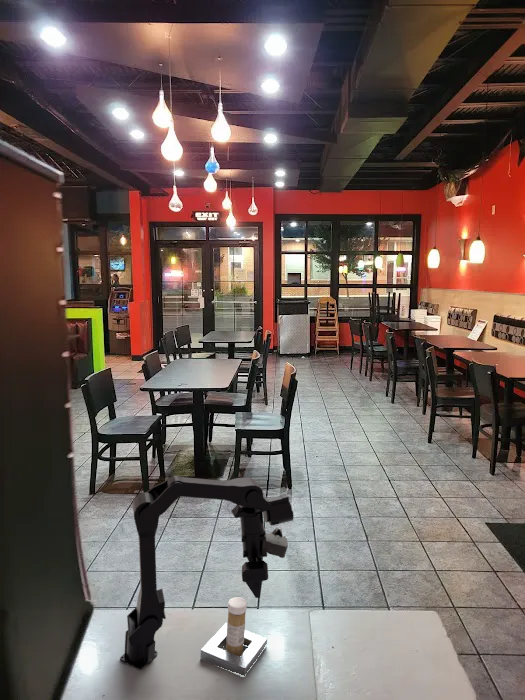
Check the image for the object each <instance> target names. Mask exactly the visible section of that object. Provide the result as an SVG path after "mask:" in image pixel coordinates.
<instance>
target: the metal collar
mask: <svg viewBox="0 0 525 700" xmlns="http://www.w3.org/2000/svg"><path fill="white" fill-rule="evenodd" d="M227 623H228V622H225V623H224V624H223V625H222V627H221V626H220V628H219V630H218V631H217V632H216V633H215V634H214V635H213V636H212V637H211V638H210V639H209V640H208V641H207V643H206V644H205V645H204V646H203V647H202V648H201V649H200V660H201V661H203V662H205V663H208V664H211V665H212V664H213V665H212V666H214V665H216V666H215V667H217V666H219V667H222V668H224V669H227V670H230V671H232V672H236V673H239V674H241V675H244V676H245V674H246V673H247V671H248V670H249V669H250V667H251V666H252V665H253V663H254V662H255V661H256V659H257V658H258V656H259V655H260V653H261V652H262V650H263V649H264V647H265V645H266V644H267V645H268V638H267V637H265V636H261V635H259V634H256V633H254V632H253V631H252V632H251V631H249V630H247V629H245V634H244V643H243V644H244V645H247V646H248V648H245V650H243V654H242V655H241V657H239V656H237V655H234V654H232V653H230V652H227V651H226V649H224V648H223V646H224V645H225V644H226V636H227ZM225 646H226V645H225ZM222 648H223V649H222ZM219 667H218V668H219ZM224 669H223V670H224Z"/></svg>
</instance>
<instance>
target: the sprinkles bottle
mask: <svg viewBox="0 0 525 700" xmlns="http://www.w3.org/2000/svg"><path fill="white" fill-rule="evenodd" d="M247 605H248V603H247V601H246V599H244V598H242V597H239V596H236V597H232V598H230V599H229V600H228V602H227V612H228V615H227V622H226V623H227V636H226V645H225V651H227V652H230V653H232V654H234V655H237V656H239V657H240V656H241V655H242V654H243V653H244V647H243V643H244V634H245V630H246V613H247V607H248V606H247Z"/></svg>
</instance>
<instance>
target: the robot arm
mask: <svg viewBox="0 0 525 700" xmlns="http://www.w3.org/2000/svg"><path fill="white" fill-rule="evenodd" d="M180 497H182V498H195V499H207V500H222V501H228V502H230V503H233V504H235V506H234V507H233V509H231V510H230V511H231V513H232V515H233V517H234V518H235V519H238V518H239V519H240V531H241V543H242V558H243V559H244V558H247V561H245V562H244V563H243V564H242V566H241V580H242V582H243V583H245V584H246V585H247V586H248V588H249V590H250V592H251V593H252V595H253V596H254V598H256V599H259V598H261V593H262V585H263V582H264V581H267V580H268V579H269V567H268V563H267V562H266V561H264V560H263V558H267V557H268V554H269V555H272V556H275V557H276V556H277V557H279V558H282V559H284V558H285V557H286V553H287V551H288V546H289V543H288V542H289V541H288V539H287V538H286V535H283V531H282V529H281V528H278V527H276V528H275V529H274V530H273V531H272V532H269V533H268V532H267V533H266V528H265V524H264V522H265V523H268V524H269V525H270V526H277V525H281V524H285V523H289V522H293V521H294V511H293V507H292V504H291V502H290V497H289V496H288V495H287V494H286V493H285V494H280V495H278V496H274V497H270V498H269V497H267V496H266V495H265V494H264V492H263V489H262V487H261V486H260V485H259V484H258V483H257V481H256V480H255V479H254V478H252V477H248V476H247V477H246V476H245V477H236V478H233V479H230V480H216V479H208V478H207V479H206V478H199V477H198V478H197V477H196V478H195V477H186V476H179V475H172V476H170V477H169V478H167V479H166V480H165V481H163V482H161V483H158V484H156V485H154V486H153V487H151V488H150V489H149V490H147V491H146V492H142V493H139V494H137V495H136V496H135V497H134V498H133V501H132V511H133V518H134V525H135V527H136V531H137V536H138V552H139V555H138V556H139V579H140V582H139V583H140V584H139V585H140V588H139V591H138V596H137V602H136V606H135V607H134V608H133V610H131V612H130V613H128V614H127V616H126V620H127V630H126V631H125V635H124V636H125V637H124V639H125V640H124V653H123V654H122V655H121V656H120V657H119V660H120V661H121V662H123V663H125V664H127V665H129V666H131V667H133V668H134V669H137V670H142V669H144V668H145V667H146V666H147V665H148V664H149V662H151V661H152V660H153V659H154V658H155V657H156V656H157V655H158V651H157V650H156V640H155V635H156V633H157V631H159V629H160V628H162V626H163V622H164V620H166V619H167V617H166V613H165V607H166V599H165V595H164V590H163V588H159V589H158V588H157V587H158V586H157V561H156V559H157V557H156V534H157V531H158V526H159V522H160V521H159V520H160V516H161V515H163V514H164V513H166V511H168V509H169V508H170V507H171V506H172V505H173V504H174V503H175V502H176V501H177V500H178V499H179V498H180Z"/></svg>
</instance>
